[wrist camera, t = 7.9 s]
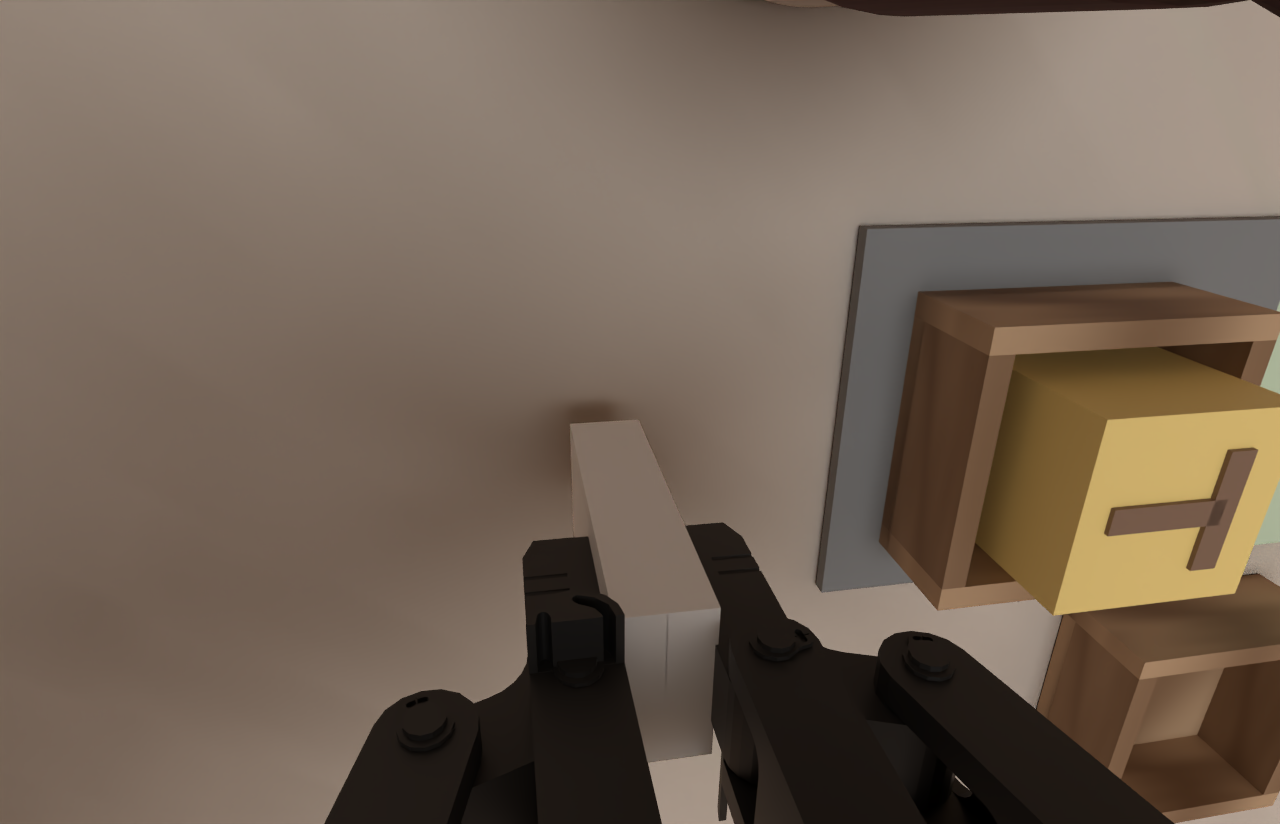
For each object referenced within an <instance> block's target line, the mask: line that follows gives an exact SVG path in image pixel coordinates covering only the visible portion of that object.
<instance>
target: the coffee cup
mask: <svg viewBox="0 0 1280 824" xmlns="http://www.w3.org/2000/svg"><path fill="white" fill-rule="evenodd" d="M765 1H769V2H773V3H776V4H780V5H787V6H794V7H829V6H841V7H844V8H849V9H854V10H859V11H864V12H868V13H873V14H878V15H890V16H933V15H968V14H1002V13H1036V12H1070V11H1104V10H1139V9H1166V8H1190V7H1209V6H1215V5H1222V4H1228V3H1234V2H1240V1H1247V0H765ZM1252 1H1253V2H1255V3H1257V4H1258V5H1260V6H1262V7H1263V8H1265V9H1267V10H1269V11H1270V12H1272V13H1274V14H1275V15H1277V16H1279V17H1280V0H1252Z"/></svg>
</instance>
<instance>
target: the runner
mask: <svg viewBox="0 0 1280 824" xmlns="http://www.w3.org/2000/svg"><path fill="white" fill-rule="evenodd" d="M1152 282H1175V283H1179V284H1183V285H1186V286H1190V287H1193V288H1197V289H1200V290H1204V291H1208V292H1211V293H1215V294H1218V295H1222V296H1225V297H1229V298H1233V299H1236V300H1240V301H1243V302H1247V303H1250V304H1254V305H1258V306H1261V307H1265V308H1268V309H1272V310H1276V311H1279V312H1280V217H1237V218H1193V219H1148V220H1104V221H1060V222H1015V223H971V224H927V225H883V226H860V228H859V236H858V244H857V252H856V260H855V269H854V277H853V285H852V293H851V301H850V310H849V318H848V326H847V334H846V342H845V351H844V359H843V367H842V375H841V383H840V392H839V400H838V408H837V416H836V424H835V432H834V441H833V449H832V457H831V465H830V473H829V482H828V490H827V498H826V506H825V514H824V523H823V531H822V539H821V547H820V555H819V564H818V572H817V580H816V585H817V586H818V588H819V589H820V591H821V592H831V591H840V590H849V589H858V588H867V587H876V586H885V585H895V584H904V583H913V581H912V580H911V579H910V578H909V577H908V575H907V574H906V573H905V572H904V571H903V570H902V568H901V567H900V566H899V565H898V564H897V563H896V561H895V560H894V559H893V558H892V557H891V556H890V554H889V553H888V552H887V551H886V550H885V549H884V547H883V546H882V545H881V544H880V543H879V537H880V531H881V525H882V518H883V512H884V506H885V499H886V493H887V487H888V480H889V474H890V468H891V461H892V455H893V449H894V442H895V436H896V430H897V423H898V417H899V411H900V404H901V398H902V392H903V385H904V379H905V372H906V366H907V360H908V353H909V347H910V341H911V334H912V328H913V322H914V315H915V309H916V303H917V296H918V292H920V291H946V290H972V289H997V288H1023V287H1049V286H1074V285H1100V284H1126V283H1152ZM1260 387H1263V388H1265V389H1268V390H1271V391H1273V392H1276V393H1278V394H1280V333H1279V335H1278V338H1277V341H1276V344H1275V346H1274V349H1273V352H1272V355H1271V358H1270V360H1269V363H1268V366H1267V369H1266V371H1265V374H1264V377H1263V380H1262V383H1261V385H1260ZM1278 542H1280V480H1279V482H1278V485H1277V487H1276V490H1275V492H1274V495H1273V497H1272V500H1271V503H1270V505H1269V508H1268V510H1267V513H1266V515H1265V518H1264V520H1263V523H1262V526H1261V528H1260V531H1259V533H1258V536H1257V538H1256V541H1255V543H1254V545H1260V544H1269V543H1278Z"/></svg>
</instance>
